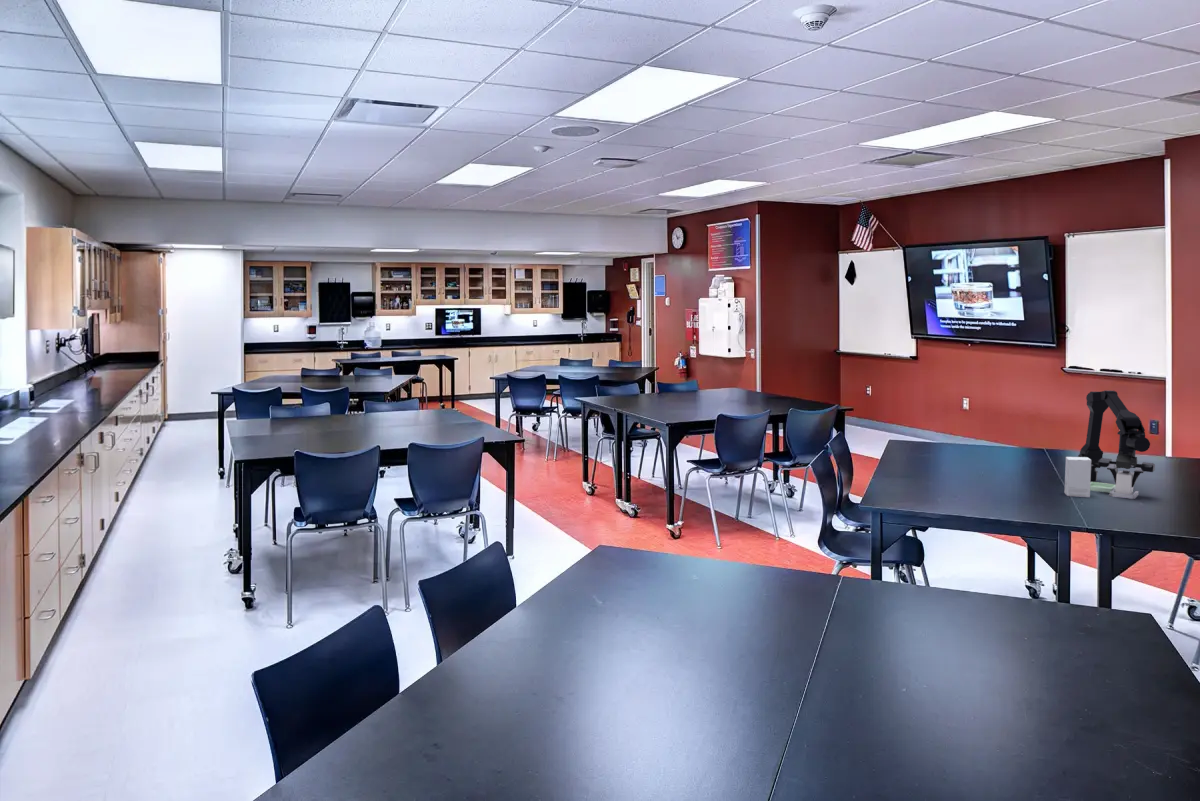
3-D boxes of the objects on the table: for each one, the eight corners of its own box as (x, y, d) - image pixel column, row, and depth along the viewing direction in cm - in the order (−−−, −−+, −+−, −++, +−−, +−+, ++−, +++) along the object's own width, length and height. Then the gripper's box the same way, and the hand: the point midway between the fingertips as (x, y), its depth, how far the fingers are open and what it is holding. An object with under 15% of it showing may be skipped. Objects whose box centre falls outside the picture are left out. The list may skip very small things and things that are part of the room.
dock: (1109, 497, 332) (1109, 492, 332) (1113, 493, 339) (1113, 488, 339) (1134, 500, 327) (1134, 495, 326) (1138, 496, 334) (1138, 491, 334)
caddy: (1115, 493, 333) (1116, 472, 332) (1118, 490, 338) (1119, 469, 337) (1130, 495, 329) (1131, 473, 328) (1132, 492, 335) (1134, 470, 334)
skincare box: (1086, 495, 336) (1089, 457, 334) (1090, 499, 330) (1092, 459, 328) (1063, 494, 338) (1065, 455, 337) (1066, 497, 332) (1068, 458, 331)
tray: (1085, 491, 343) (1086, 486, 343) (1091, 486, 352) (1091, 481, 351) (1111, 494, 337) (1112, 489, 337) (1116, 489, 346) (1117, 484, 346)
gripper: (1096, 447, 332) (1093, 486, 333) (1152, 452, 320) (1149, 493, 321) (1101, 444, 340) (1099, 481, 342) (1156, 449, 328) (1153, 488, 330)
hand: (1124, 486), depth 333 cm, fingers closed on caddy, 5 cm apart
